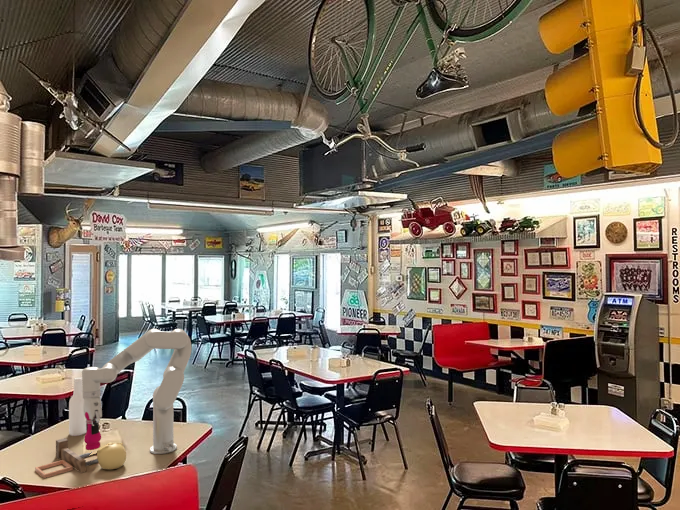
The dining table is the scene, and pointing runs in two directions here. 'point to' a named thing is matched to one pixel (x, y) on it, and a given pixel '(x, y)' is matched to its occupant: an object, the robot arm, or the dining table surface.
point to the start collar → (89, 461)
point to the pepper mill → (91, 436)
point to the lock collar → (40, 472)
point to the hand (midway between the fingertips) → (92, 431)
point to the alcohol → (77, 410)
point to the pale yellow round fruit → (111, 456)
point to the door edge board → (69, 455)
